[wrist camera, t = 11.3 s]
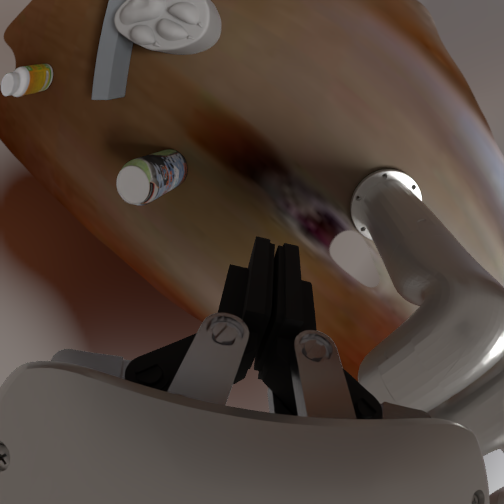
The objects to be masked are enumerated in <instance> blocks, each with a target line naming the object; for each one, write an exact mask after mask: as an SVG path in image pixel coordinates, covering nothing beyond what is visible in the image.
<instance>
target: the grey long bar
mask: <svg viewBox="0 0 504 504" xmlns="http://www.w3.org/2000/svg"><path fill="white" fill-rule="evenodd" d="M125 1H126V0H109V2H108V6H107V10H106V14H105V18H104V23H103V27H102V32H101V37H100V42H99V47H98V53H97V59H96V66H95V73H94V81H93V90H92V100H110V99H115V98H120V97H125V90H126V82H127V76H128V69H129V63H130V57H131V52H132V46H133V42H132V41H131V40H129V39H128V38H126V37H125V36H123V35H122V34H121V33H120V32H119V31H118V30H117V28H116V26H115V22H114V18H115V14H116V12H117V10H118V9H119V8H120V6H121V5H122V4H123V3H124V2H125Z"/></svg>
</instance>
